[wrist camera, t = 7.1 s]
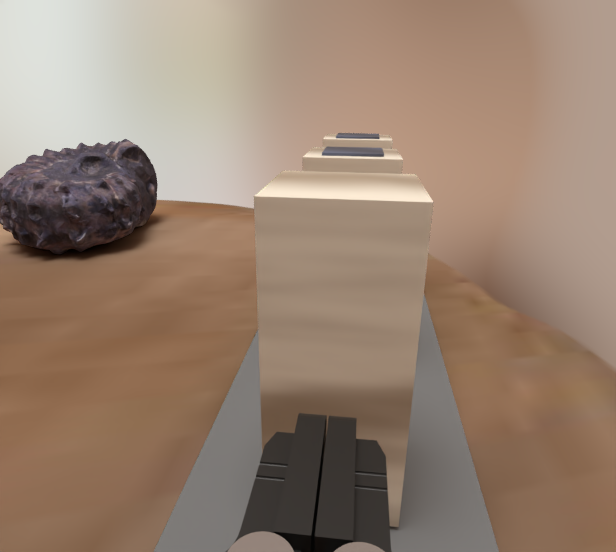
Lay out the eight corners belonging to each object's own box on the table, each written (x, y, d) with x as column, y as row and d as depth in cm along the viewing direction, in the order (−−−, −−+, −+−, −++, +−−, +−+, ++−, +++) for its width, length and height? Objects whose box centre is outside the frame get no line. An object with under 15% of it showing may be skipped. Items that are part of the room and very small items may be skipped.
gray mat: (509, 606, 15) (511, 596, 15) (154, 563, 16) (152, 553, 16) (415, 272, 44) (416, 267, 44) (289, 266, 45) (289, 261, 45)
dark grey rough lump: (166, 225, 65) (67, 167, 63) (196, 152, 57) (85, 83, 55) (81, 317, 50) (-52, 244, 48) (106, 235, 42) (-52, 144, 40)
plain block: (398, 527, 17) (433, 202, 13) (264, 512, 18) (253, 196, 13) (391, 434, 22) (415, 174, 17) (285, 425, 22) (283, 170, 18)
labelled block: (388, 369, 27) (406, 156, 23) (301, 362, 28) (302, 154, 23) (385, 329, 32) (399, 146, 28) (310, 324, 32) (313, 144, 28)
